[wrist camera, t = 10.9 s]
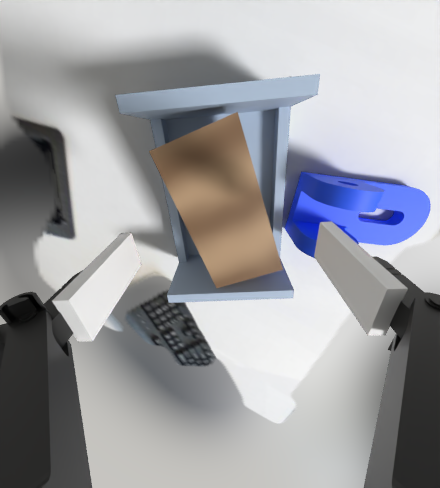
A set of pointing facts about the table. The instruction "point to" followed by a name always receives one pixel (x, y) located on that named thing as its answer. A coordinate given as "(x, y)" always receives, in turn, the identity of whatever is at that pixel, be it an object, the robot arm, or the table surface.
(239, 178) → the brown wooden block
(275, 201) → the frame
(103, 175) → the table surface
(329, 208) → the bracket
